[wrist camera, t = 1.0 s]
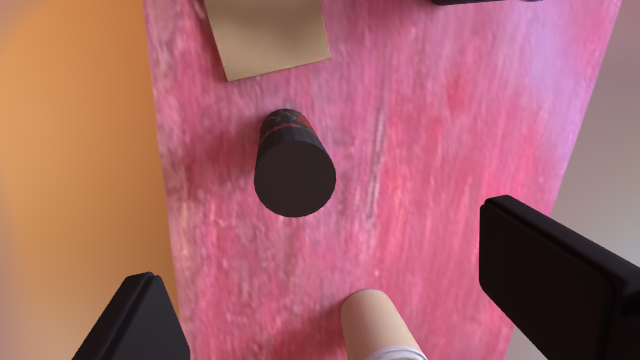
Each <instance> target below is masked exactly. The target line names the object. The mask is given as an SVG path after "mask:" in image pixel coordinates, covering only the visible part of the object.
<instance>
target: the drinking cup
mask: <svg viewBox="0 0 640 360" xmlns="http://www.w3.org/2000/svg"><path fill="white" fill-rule="evenodd" d="M431 1H432V2H434V3H436V4H438V5H454V4H466V3H478V2H490V1H502V0H431ZM520 1H525V2H536V1H542V0H520Z"/></svg>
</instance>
